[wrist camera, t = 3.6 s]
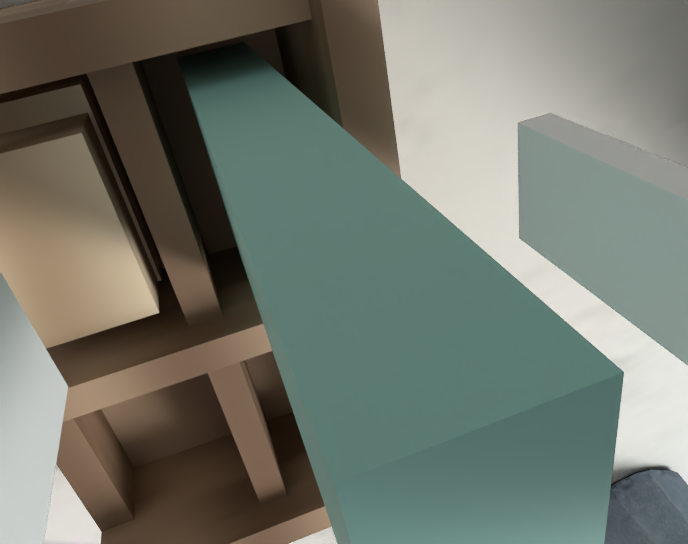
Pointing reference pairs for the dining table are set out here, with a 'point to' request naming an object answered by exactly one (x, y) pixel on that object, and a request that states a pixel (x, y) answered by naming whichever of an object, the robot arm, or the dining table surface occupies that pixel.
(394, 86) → the dining table surface
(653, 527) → the moka pot
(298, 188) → the panel
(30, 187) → the offcut top
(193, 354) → the rack
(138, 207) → the block
